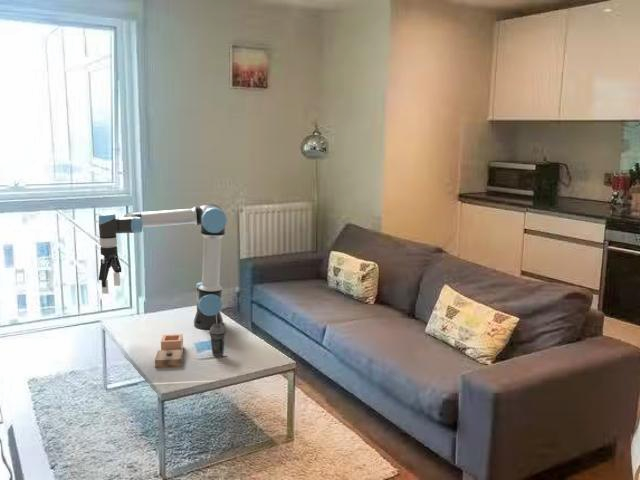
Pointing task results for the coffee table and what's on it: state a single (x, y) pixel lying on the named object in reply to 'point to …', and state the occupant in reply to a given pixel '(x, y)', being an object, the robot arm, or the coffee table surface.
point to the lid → (169, 358)
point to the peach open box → (172, 342)
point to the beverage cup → (217, 339)
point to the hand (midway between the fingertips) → (111, 289)
